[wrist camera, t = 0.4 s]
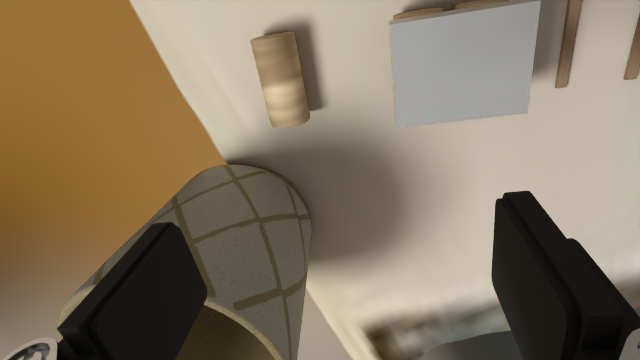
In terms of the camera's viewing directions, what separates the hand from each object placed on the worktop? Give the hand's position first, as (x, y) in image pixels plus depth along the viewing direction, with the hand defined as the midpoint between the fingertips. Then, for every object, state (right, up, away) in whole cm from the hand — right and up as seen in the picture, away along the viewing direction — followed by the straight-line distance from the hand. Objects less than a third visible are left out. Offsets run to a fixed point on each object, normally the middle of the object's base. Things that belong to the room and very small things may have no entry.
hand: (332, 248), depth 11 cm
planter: (-10, -3, +35) cm, 36 cm away
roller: (-4, +12, +25) cm, 28 cm away
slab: (+11, +12, +18) cm, 24 cm away
